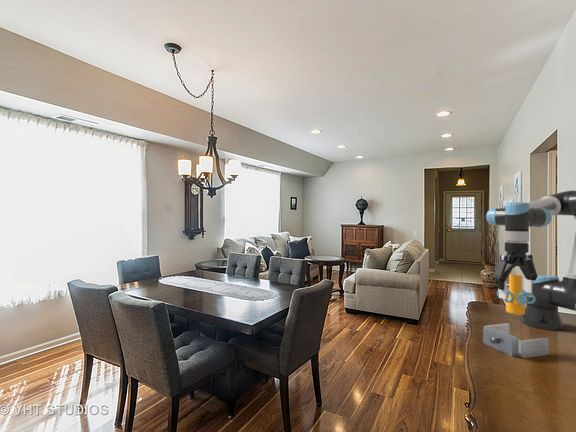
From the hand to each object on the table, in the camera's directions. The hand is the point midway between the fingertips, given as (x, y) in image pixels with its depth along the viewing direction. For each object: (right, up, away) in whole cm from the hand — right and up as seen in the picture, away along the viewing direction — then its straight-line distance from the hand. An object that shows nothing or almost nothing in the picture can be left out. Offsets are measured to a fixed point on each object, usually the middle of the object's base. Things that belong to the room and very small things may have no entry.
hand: (515, 297), depth 119 cm
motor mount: (-3, -20, 0) cm, 20 cm away
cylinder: (0, -6, 0) cm, 6 cm away
